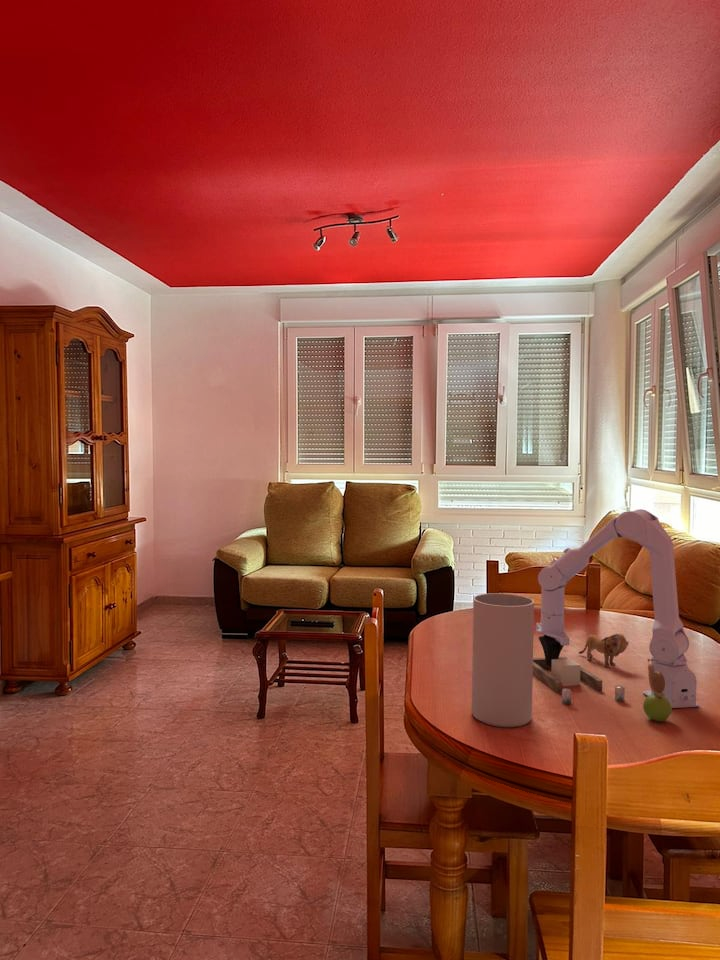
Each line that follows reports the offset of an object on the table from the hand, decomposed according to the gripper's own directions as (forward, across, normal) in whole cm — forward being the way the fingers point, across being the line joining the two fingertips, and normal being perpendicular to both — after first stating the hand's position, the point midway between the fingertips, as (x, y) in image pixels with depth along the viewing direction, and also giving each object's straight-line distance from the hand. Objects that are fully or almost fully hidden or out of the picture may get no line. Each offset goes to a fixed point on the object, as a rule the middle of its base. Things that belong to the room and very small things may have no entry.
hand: (551, 665), depth 164 cm
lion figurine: (+2, -5, +18) cm, 19 cm away
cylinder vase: (+2, +26, -24) cm, 35 cm away
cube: (+2, +8, 0) cm, 8 cm away
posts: (+2, +20, 0) cm, 21 cm away
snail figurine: (+2, +32, +8) cm, 33 cm away
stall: (+2, +6, 0) cm, 6 cm away
